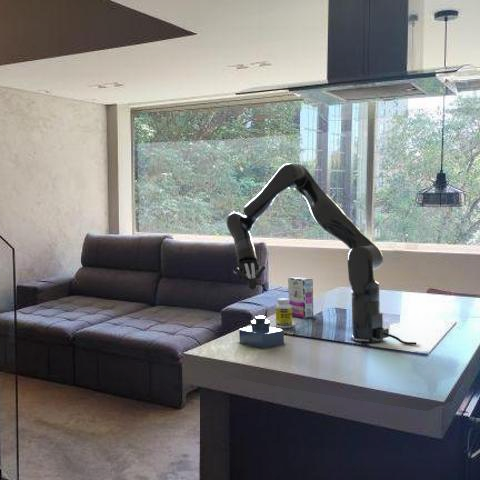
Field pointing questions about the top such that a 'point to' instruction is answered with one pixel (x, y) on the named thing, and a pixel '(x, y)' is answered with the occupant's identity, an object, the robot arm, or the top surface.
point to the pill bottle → (283, 313)
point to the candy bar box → (301, 296)
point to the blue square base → (261, 335)
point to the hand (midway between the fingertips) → (253, 288)
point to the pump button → (260, 319)
